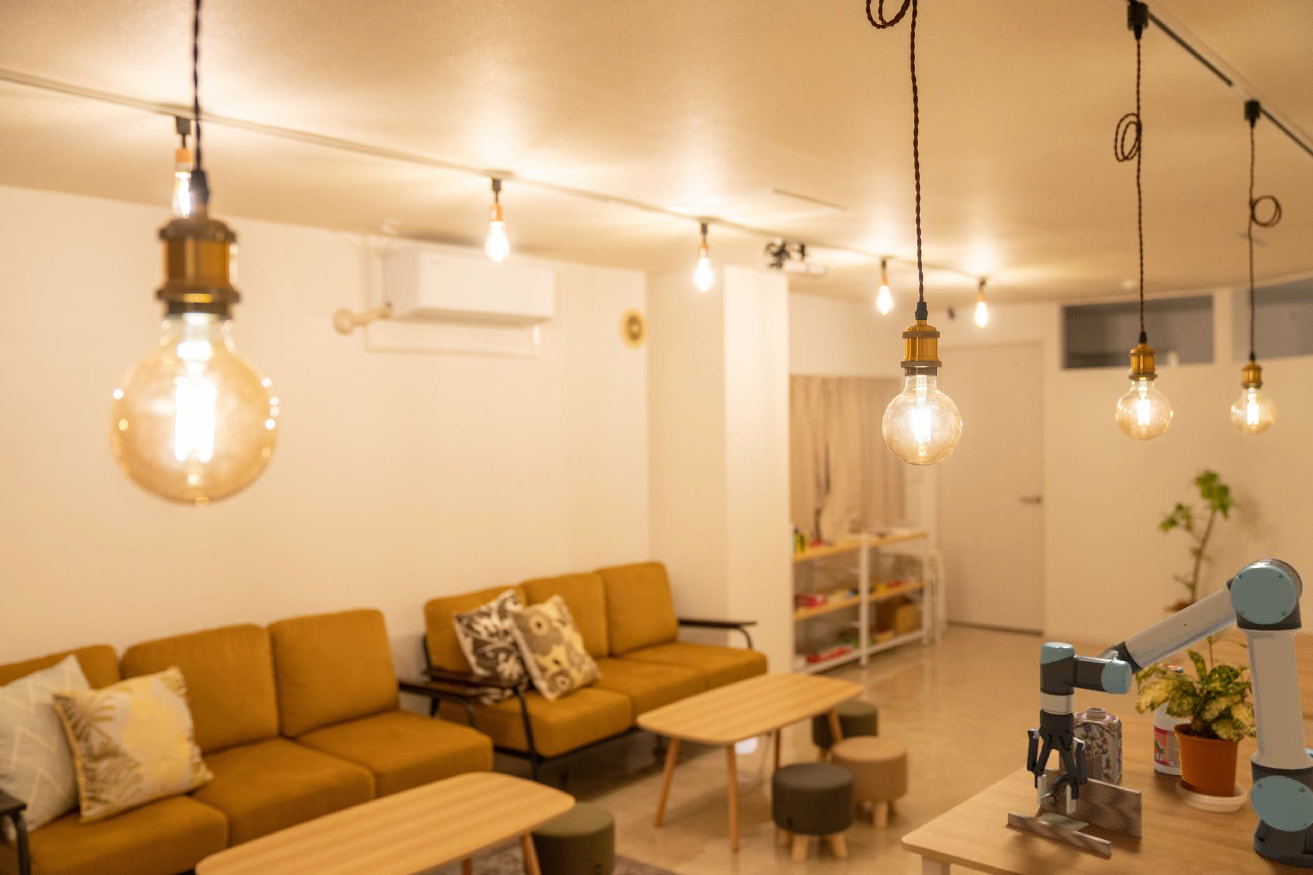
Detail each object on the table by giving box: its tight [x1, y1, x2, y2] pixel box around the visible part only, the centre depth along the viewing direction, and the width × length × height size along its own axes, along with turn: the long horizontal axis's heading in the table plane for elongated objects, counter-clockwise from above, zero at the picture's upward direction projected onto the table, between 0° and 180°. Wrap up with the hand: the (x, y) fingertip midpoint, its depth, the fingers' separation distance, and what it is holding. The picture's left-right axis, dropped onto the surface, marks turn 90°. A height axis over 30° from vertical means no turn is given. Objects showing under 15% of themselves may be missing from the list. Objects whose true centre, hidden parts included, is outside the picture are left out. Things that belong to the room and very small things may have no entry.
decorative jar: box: [1073, 706, 1123, 785], centre depth 273 cm, size 12×12×18 cm
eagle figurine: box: [1040, 773, 1070, 809], centre depth 241 cm, size 8×7×9 cm
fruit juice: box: [1153, 665, 1190, 775], centre depth 276 cm, size 9×9×28 cm
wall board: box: [1007, 766, 1143, 856], centre depth 237 cm, size 24×16×10 cm, turn 40°
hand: (1056, 807), depth 240 cm, fingers closed on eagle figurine, 6 cm apart
